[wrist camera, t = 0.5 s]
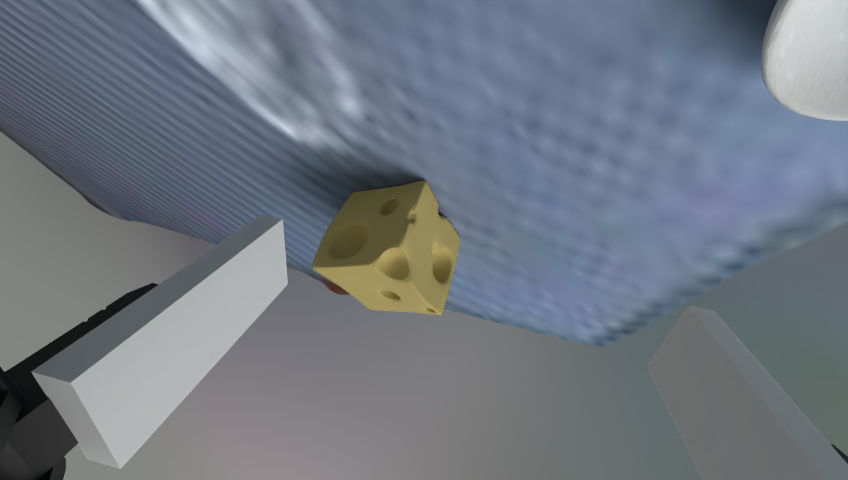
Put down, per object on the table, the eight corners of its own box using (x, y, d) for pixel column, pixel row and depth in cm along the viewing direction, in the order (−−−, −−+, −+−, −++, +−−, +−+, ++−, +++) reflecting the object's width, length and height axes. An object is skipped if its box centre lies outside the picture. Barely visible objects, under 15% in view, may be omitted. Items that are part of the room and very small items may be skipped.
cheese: (426, 176, 32) (394, 265, 27) (465, 241, 40) (446, 320, 35) (345, 189, 38) (306, 266, 33) (393, 244, 45) (367, 313, 40)
